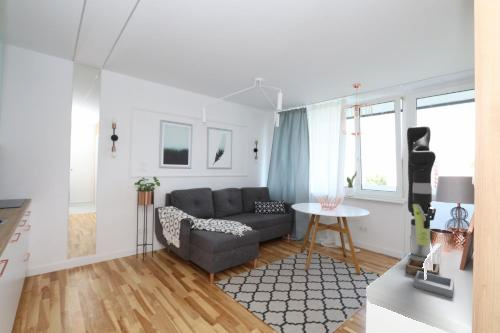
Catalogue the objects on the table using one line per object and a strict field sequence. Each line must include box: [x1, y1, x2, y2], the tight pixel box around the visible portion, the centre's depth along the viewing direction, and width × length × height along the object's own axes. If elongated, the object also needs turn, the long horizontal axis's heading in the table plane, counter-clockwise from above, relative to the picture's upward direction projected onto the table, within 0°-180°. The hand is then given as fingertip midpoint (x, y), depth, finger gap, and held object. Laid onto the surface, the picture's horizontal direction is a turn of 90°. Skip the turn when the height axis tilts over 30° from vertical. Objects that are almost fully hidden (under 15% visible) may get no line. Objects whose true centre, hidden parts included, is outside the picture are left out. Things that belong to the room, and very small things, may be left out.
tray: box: [413, 271, 455, 299], centre depth 102 cm, size 13×13×3 cm
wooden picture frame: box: [405, 257, 440, 277], centre depth 115 cm, size 12×12×4 cm
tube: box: [413, 204, 432, 245], centre depth 115 cm, size 6×5×20 cm
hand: (422, 226), depth 115 cm, fingers closed on tube, 4 cm apart
